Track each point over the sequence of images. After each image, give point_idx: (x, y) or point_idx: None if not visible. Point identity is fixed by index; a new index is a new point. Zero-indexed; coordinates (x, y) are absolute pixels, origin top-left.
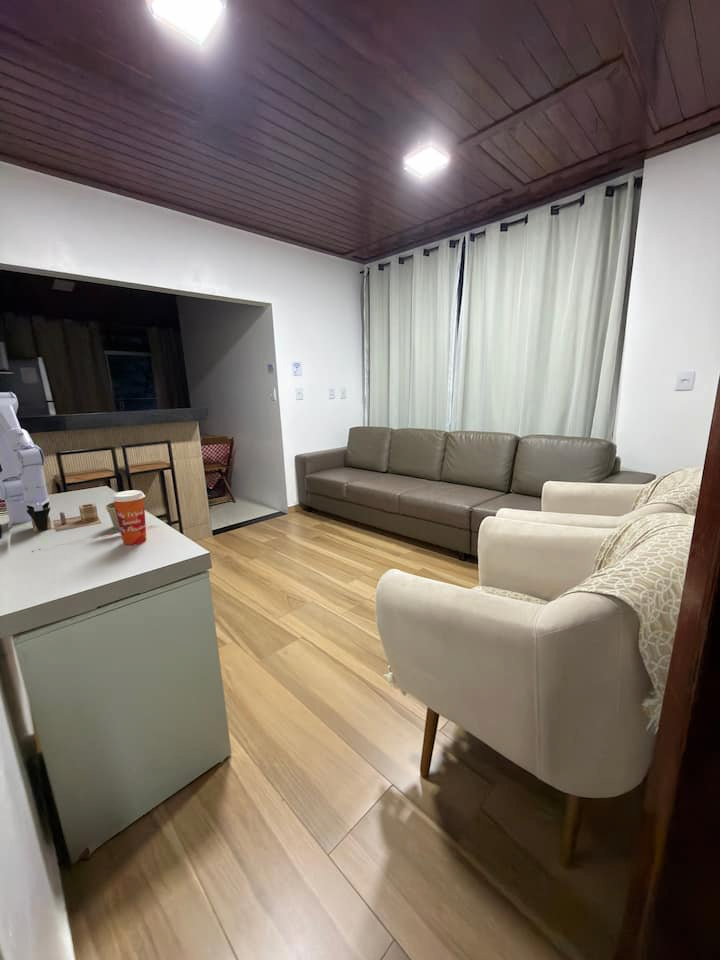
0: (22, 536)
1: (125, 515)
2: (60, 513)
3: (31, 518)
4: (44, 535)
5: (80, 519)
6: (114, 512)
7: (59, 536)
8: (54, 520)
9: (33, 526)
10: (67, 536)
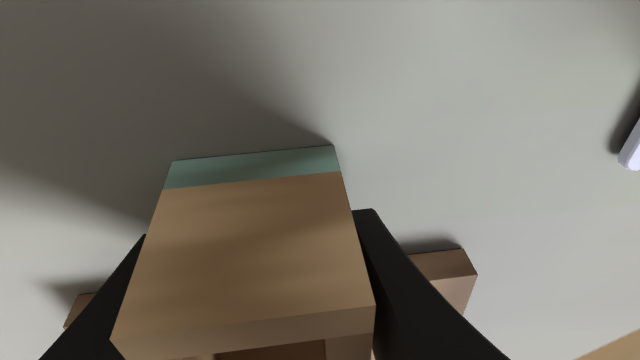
0: (181, 51)
1: None
2: None
3: (228, 324)
4: (115, 230)
5: None
6: None
7: (34, 310)
8: (471, 281)
9: (149, 243)
10: (16, 342)
